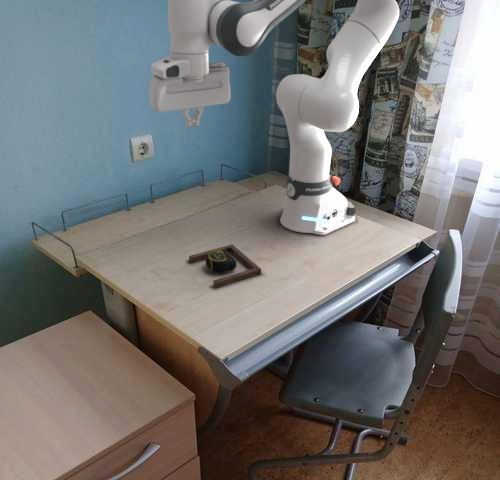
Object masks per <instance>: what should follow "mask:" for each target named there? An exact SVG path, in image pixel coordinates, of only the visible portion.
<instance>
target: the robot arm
mask: <svg viewBox="0 0 500 480" xmlns="http://www.w3.org/2000/svg"><path fill="white" fill-rule="evenodd" d="M306 1H307V0H252V1H247V2H239V1H234V0H168V1H167V2H168V3H167V22H168V23H167V24H168V32H169V35H170V47H169V54H168V55H167V56H166V57H164V58H162V59H160V60H157V61H155V62H153V63H151V65H150V71H151V73H152V74H153V76H151V78H150V80H149V92H148V93H149V105H150V107H151V108H152V110H154V111H155V112H157V113H164V112H172V111H178V110H180V113H181V114H182V116H183V117H184V119H185V126H186V127H187V128H190V127H197V126H200V119H201V117H202V115H203V113H204V107H210V106H216V105H224V104H229V103H230V101H231V99H232V93H231V92H232V91H231V84H230V67H229V65H228V64H226V63H225V62H223V61H218V62H210V46H214V45H216V46H217V47H219V48H221V49H224V50H225V51H227V52H229V54H231V55H233V56H235V57H247V56H249V55H252V54H253V53H254V52H256V51H257V50H258V49H259V47H260V46H261V45H262V44H263V42H264V41H265V39H266V37H267V36H268V34H269V33H270V32H271V31H272V30H273V29H274V28H275V27H276V26H277V25H279V23H281V22H282V21H283V20H285V19H286V18H287V17H288V16H290V15H291V14H292V13H293V12H295V10H297V9H298V8H299V7H301V5H303V4H304V3H305V2H306ZM399 17H400V7H399V4H398V2H397V1H396V0H357V1H356V5H355V8H354V9H353V12H352V13H351V15H350V16H349V17H348V18H347V20H346V21H345V22H344V24H343V25H342V27H341V28H340V29H339V31H338V33H336V35H335V37H334V38H333V39H332V41H331V42H330V43H329V45H328V47H327V49H326V60H327V64H328V66H327V69H326V71H325V73H324V75H323V76H322V77H320V78H318V77H315V76H311V75H308V74H306V73H305V74H304V73H298V74H297V73H295V74H289V75H286V76H285V77H284V78H282V80H281V81H280V82H279V83H278V86H277V88H276V93H275V99H276V104H277V106H278V108H279V110H280V112H281V113H282V116H283V119H284V122H285V126H286V129H287V135H288V140H289V166H288V167H289V168H288V169H289V170H288V173H287V176H286V184H285V185H286V197H285V203H284V206H283V210H282V213H281V216H280V218H279V222H280V224H281V225H282V226H283V227H284V228H286V229H288V230H290V231H292V232H297V233H303V234H314V235H318V236H325V235H328V234H330V233H332V232H334V231H336V230H338V229H341V228H343V227H345V226H347V225H350V224H351V223H354V222H356V216H355V214H356V211H357V209H356V207H355V206H354V204H353V203H352V202H351V201H350V200H347V198H346V197H345V196H344V195H343V194H342V193H341V192H340V191H338V190H337V189H336V188H334V186H333V184H334V185H335V186H339V184H340V183H341V178H340V177H338V176H336V175H333V176H332V174H330V169H331V160H332V153H333V152H332V151H333V150H332V146H331V144H330V142H329V140H328V139H327V137H326V134H325V132H331V133H343V132H346V131H347V130H349V129H350V128H351V127H352V126H353V125H354V123H355V121H357V117H358V115H359V108H360V105H359V99H358V89H359V85H360V83H361V80H362V78H363V76H364V74H365V73H366V71H367V70H368V68H370V66H371V64H372V62H373V61H374V59H375V58H376V57H377V55H378V54H379V52H380V51H381V50H382V48H383V47H384V46H385V44H386V43H387V41H388V39H389V37H390V36H391V34H392V32H393V30H394V28H395V26H396V24H397V22H398V20H399ZM190 109H194V110H195V113H194V115H193V116H192V117H190V115H189V114H190Z"/></svg>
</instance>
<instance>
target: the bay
mask: <svg viewBox="0 0 500 480" xmlns="http://www.w3.org/2000/svg"><path fill="white" fill-rule="evenodd" d="M223 249H225V250H226V251H227V252H228V253H229V254H232V255H233V256H234V257H235V258H236V259H237V260H238V261H239V262H241V263H242V264H243V265H244V266H245V267H246V268H248V269H247V270H243V271H239V272H238V273H234V274H230V275H227V276H224V277H219V278H216V279H214V280H213V281H212V282H213V285H212V286H213V287H214V288H215V289H218V288H221V287H224V286H228V285H231V284H234V283H237V282H242V281H244V280H247V279H248V280H249V279H251V278H254V277H257V276H262V268H261V267H259V266H258V264H256V263H255V262H254V261H252V260H251V259H250V258H249V257H248V256H247V255H246V254H244V253H243V252H242V251H241V250H240V249H238V248H237V247H236V246H235V245H234V244H231V243H230V244H228V245H224V246H220V247H217V248H213V249H210V250H205V251H202V252H199V253H195V254H191V255H188V262H189V263H190V264H194V263H197V262H201V261H206V257H207V255H208V254H209V253H210V252H212V251H221V250H223Z"/></svg>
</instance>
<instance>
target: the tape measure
mask: <svg viewBox="0 0 500 480" xmlns="http://www.w3.org/2000/svg"><path fill="white" fill-rule="evenodd" d="M237 265H238V263H237V261H236V259H235V258H234V257H233V256H232V255H231V253H228V252H227V251H226V250H225V249H223V250H221V251H212V252H210V253H209V254H208V255H207V257H206V259H205V267H206V268H207V269H208V271H211V272H213V273H217V274H224V273H226V272H229V271H233V270H235V269H237Z"/></svg>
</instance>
